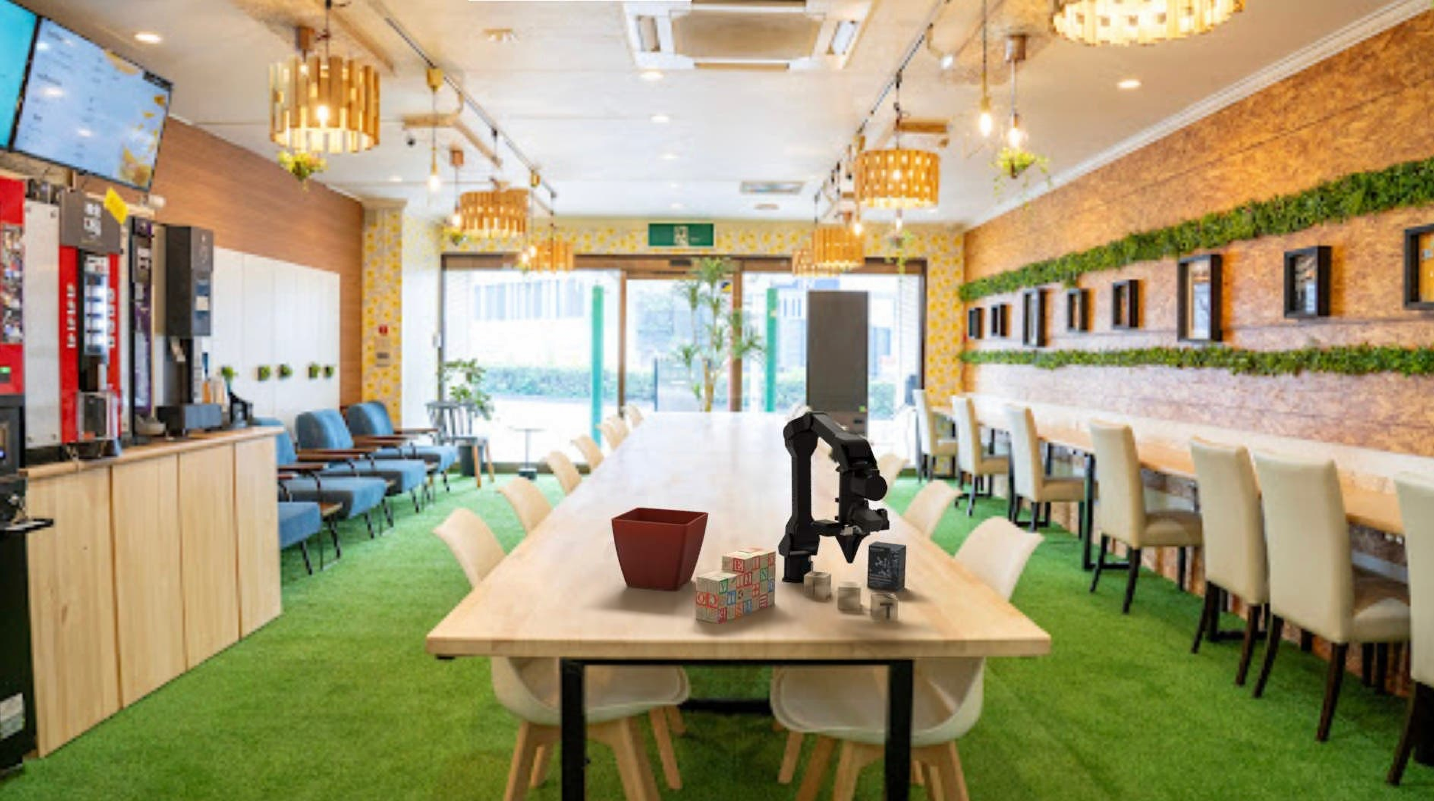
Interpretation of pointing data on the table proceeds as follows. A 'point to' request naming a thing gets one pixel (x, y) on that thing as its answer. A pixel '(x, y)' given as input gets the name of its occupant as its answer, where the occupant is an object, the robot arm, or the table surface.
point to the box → (886, 566)
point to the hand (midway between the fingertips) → (849, 563)
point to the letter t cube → (884, 607)
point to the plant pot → (658, 546)
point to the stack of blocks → (737, 585)
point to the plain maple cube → (849, 595)
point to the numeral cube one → (817, 584)
